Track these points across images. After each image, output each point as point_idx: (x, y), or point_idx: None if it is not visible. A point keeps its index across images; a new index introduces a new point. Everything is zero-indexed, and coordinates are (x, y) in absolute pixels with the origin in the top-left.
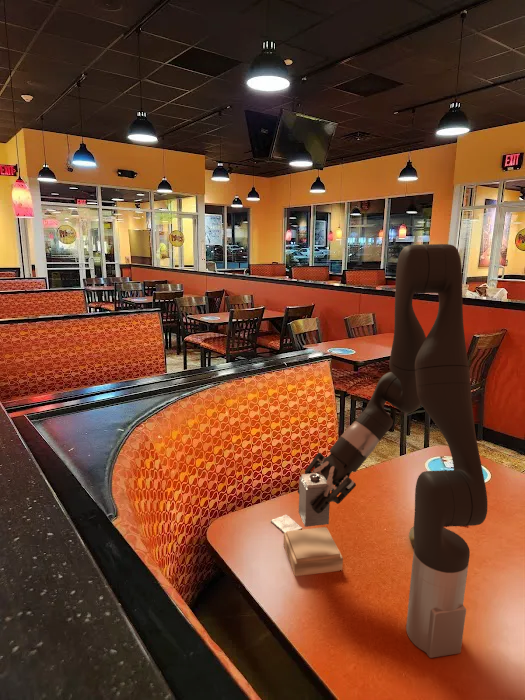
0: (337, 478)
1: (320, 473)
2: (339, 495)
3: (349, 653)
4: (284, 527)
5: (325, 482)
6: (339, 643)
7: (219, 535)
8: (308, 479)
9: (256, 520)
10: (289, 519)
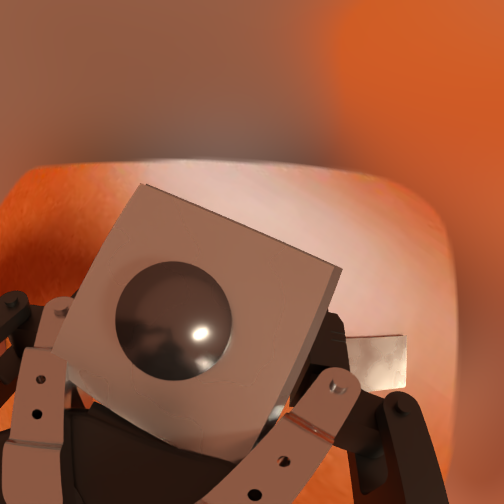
0: (2, 432)
1: (232, 454)
2: (17, 369)
3: (32, 219)
4: (365, 351)
5: (68, 354)
6: (48, 219)
7: (408, 203)
8: (208, 257)
9: (423, 305)
10: (384, 383)
